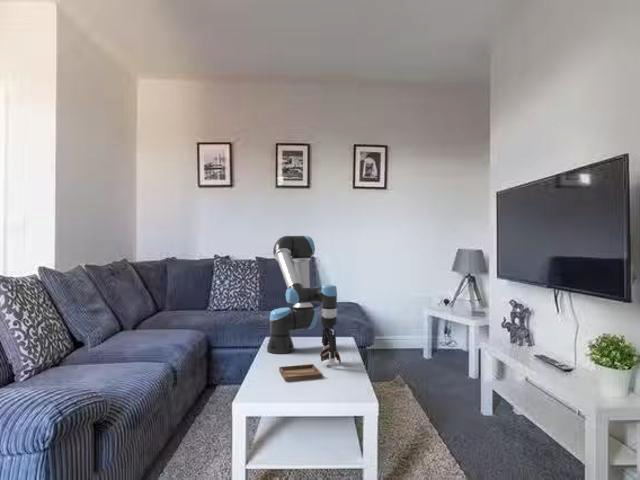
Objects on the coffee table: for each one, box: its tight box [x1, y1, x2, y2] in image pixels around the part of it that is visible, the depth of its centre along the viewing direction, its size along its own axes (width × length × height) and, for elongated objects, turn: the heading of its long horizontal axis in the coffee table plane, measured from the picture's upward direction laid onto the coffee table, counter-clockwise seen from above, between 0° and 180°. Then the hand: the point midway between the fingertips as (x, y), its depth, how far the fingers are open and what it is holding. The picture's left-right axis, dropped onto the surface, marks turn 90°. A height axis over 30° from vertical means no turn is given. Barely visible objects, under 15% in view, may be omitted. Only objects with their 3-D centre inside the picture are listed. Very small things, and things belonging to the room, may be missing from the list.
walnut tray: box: [278, 363, 323, 383], centre depth 192 cm, size 16×17×2 cm
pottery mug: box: [319, 347, 342, 364], centre depth 207 cm, size 12×10×8 cm
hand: (328, 361), depth 206 cm, fingers closed on pottery mug, 10 cm apart
